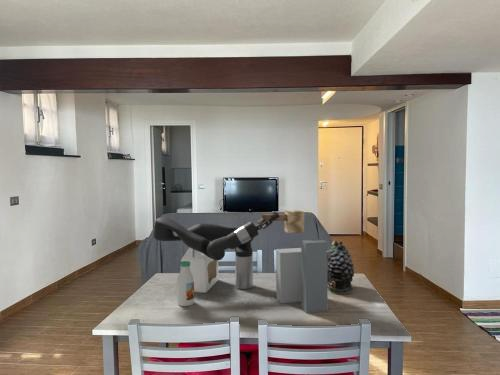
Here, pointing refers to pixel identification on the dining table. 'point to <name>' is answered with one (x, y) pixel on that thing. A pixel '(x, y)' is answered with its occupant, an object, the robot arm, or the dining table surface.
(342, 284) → the dark fir cone
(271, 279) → the dining table surface
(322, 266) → the slate shelf stand
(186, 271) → the milk bottle
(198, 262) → the gable box
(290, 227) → the oak block with handle
